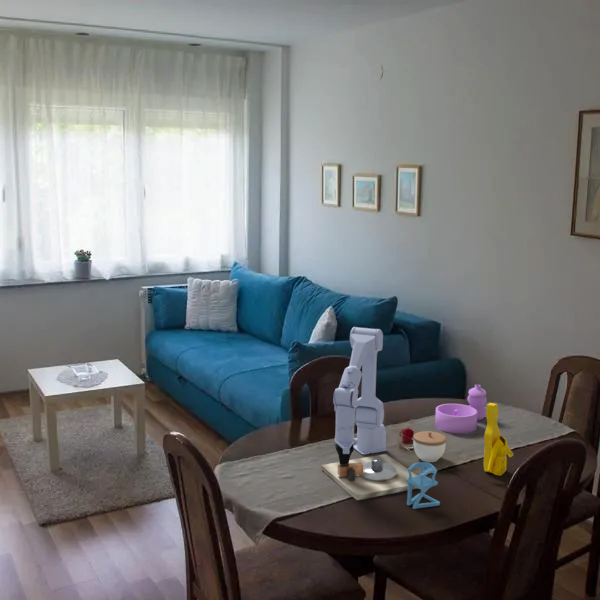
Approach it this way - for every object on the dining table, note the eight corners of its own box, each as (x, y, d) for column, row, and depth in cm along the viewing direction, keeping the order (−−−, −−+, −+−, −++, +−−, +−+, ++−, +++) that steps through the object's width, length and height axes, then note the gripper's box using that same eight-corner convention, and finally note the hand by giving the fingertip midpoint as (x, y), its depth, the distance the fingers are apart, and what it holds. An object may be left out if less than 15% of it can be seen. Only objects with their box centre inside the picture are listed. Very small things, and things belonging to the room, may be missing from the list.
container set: (461, 436, 269) (463, 401, 267) (426, 426, 280) (428, 392, 277) (498, 420, 286) (500, 387, 284) (464, 411, 297) (466, 379, 294)
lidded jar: (448, 455, 251) (449, 429, 249) (440, 467, 241) (441, 440, 240) (417, 450, 255) (418, 424, 254) (408, 461, 246) (409, 434, 244)
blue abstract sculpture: (400, 502, 217) (402, 463, 214) (421, 495, 221) (423, 457, 219) (419, 512, 210) (421, 472, 208) (440, 505, 215) (442, 465, 213)
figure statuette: (493, 483, 230) (498, 415, 226) (470, 476, 235) (474, 409, 231) (518, 465, 243) (522, 401, 239) (495, 459, 248) (499, 396, 244)
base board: (385, 458, 249) (386, 445, 248) (426, 486, 227) (426, 472, 226) (321, 469, 239) (321, 456, 238) (357, 500, 217) (357, 485, 216)
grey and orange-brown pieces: (387, 463, 239) (388, 451, 239) (402, 479, 228) (402, 466, 227) (332, 469, 235) (333, 456, 234) (344, 485, 223) (345, 471, 222)
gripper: (360, 434, 222) (359, 476, 225) (355, 417, 236) (354, 457, 239) (336, 433, 222) (335, 476, 224) (333, 417, 236) (332, 457, 239)
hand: (343, 467), depth 232 cm, fingers closed
